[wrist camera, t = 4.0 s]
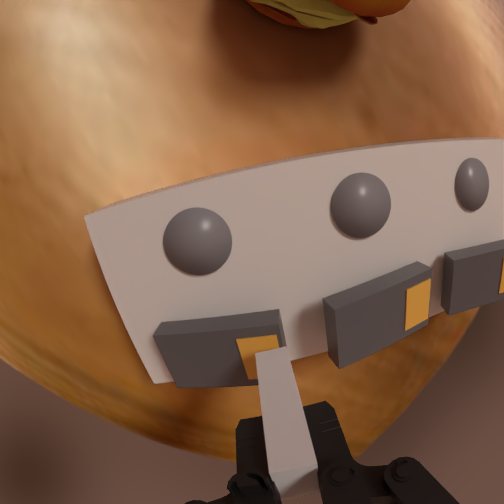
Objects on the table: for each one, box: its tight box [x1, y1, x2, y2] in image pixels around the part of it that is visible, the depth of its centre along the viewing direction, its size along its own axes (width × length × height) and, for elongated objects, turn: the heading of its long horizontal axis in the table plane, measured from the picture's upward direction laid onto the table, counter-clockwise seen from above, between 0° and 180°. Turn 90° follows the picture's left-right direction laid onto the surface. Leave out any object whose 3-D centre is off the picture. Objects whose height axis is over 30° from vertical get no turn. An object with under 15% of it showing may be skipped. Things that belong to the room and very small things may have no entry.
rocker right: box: [441, 239, 504, 315], centre depth 15 cm, size 7×4×2 cm, turn 102°
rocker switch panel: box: [84, 137, 504, 384], centre depth 18 cm, size 30×12×4 cm, turn 102°
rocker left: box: [153, 309, 287, 388], centre depth 15 cm, size 7×4×2 cm, turn 102°
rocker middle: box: [322, 261, 432, 369], centre depth 15 cm, size 7×4×2 cm, turn 102°
